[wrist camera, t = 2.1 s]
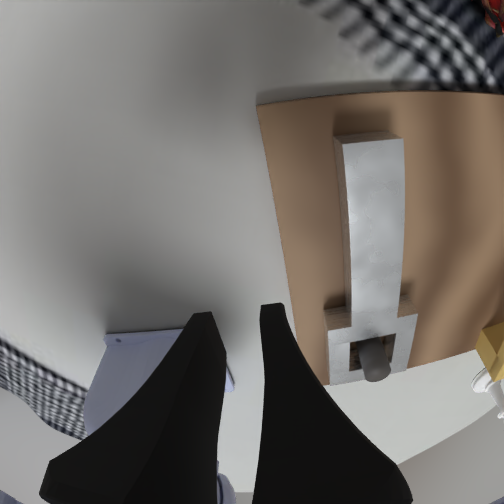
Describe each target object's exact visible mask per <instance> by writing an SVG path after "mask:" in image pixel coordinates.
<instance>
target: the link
mask: <svg viewBox="0 0 504 504" xmlns="http://www.w3.org/2000/svg"><path fill="white" fill-rule="evenodd" d="M333 141H334V149H335V157H336V166H337V176H338V186H339V197H340V208H341V222H342V236H343V254H344V276H345V306H342V307H336V308H330V309H324V310H323V314H324V328H325V344H326V363H327V371H328V376H329V382H330V386H332V385H338V384H344V383H349V382H355V381H360V380H365V376H364V372H363V368H362V365H361V361H360V357H359V354H358V350H357V349H355V350H350V342H354V341H359V340H365V339H370V338H375V337H380V336H385V343H384V344H383V347H384V350H385V352H386V355H387V358H388V361H389V364H390V367H391V372H390V374H393V373H397V372H401V371H405V370H406V369H407V364H408V360H409V356H410V351H411V347H412V342H413V337H414V332H415V327H416V322H417V317H418V312H417V310H416V308H415V307H414V305H413V303H412V301H411V299H410V297H409V295H408V294H406V295H401V296H400V286H401V275H402V262H403V246H404V222H405V165H404V142H403V138H401V137H399V136H398V135H396V134H394V133H392V132H390V131H377V132H366V133H356V134H347V135H338V136H333Z"/></svg>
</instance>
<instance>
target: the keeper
mask: <svg viewBox="0 0 504 504" xmlns="http://www.w3.org/2000/svg"><path fill="white" fill-rule="evenodd" d="M475 348H476V350H477V352H478V354H479V356H480V358H481V359H482V361H483V363H484V365H485V367H486V369H487V371H488V373H489V375H490V377H491V379H492V381H493V382H496V381H498V380H501V379H503V378H504V322H502V323H499V324H496V325H494V326H491V327H487V328H484V329H482V330H481V333H480V335H479V338H478V341H477V343H476V346H475Z"/></svg>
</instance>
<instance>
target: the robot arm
mask: <svg viewBox="0 0 504 504" xmlns="http://www.w3.org/2000/svg"><path fill="white" fill-rule="evenodd" d="M260 332H261V342H262V352H263V362H264V376H265V385H264V405H263V419H262V432H261V441H260V451H259V460H258V467H257V474H256V481H255V488H254V495H253V500H252V504H411V503H412V501H413V498H412V494H411V491H410V488H409V486H408V484H407V482H406V480H405V478H404V476H403V475H402V473H401V471H400V470H399V468H398V467H397V465H396V463H394V462H393V461H392V460H391V459H390V458H389V457H387V456H386V455H385V454H384V453H383V452H382V451H381V450H380V449H378V448H377V447H376V446H375V445H374V444H373V443H372V442H371V441H370V440H369V439H368V438H367V437H366V436H365V435H364V434H363V433H362V432H361V431H360V430H359V429H358V428H357V427H356V426H355V425H354V424H353V422H352V421H351V420H350V419H349V418H348V417H347V416H346V415H345V413H344V412H343V411H342V410H341V409H340V408H339V407H338V405H337V404H336V403H335V401H334V400H333V399H332V398H331V396H330V395H329V394H328V392H327V391H326V390H325V388H324V387H323V385H322V384H321V383H320V381H319V380H318V378H317V377H316V375H315V374H314V372H313V370H312V369H311V367H310V365H309V364H308V362H307V361H306V359H305V357H304V355H303V353H302V352H301V350H300V348H299V346H298V344H297V342H296V340H295V338H294V336H293V333H292V331H291V328H290V326H289V323H288V320H287V317H286V313H285V307H284V305H283V304H282V303H273V304H266V305H261V311H260ZM103 340H104V342H105V343H106V345H107V346H108V347H107V348H106V351H105V353H104V355H103V358H102V360H101V362H100V364H99V367H98V369H97V372H96V374H95V376H94V379H93V381H92V384H91V386H90V388H89V391H88V393H87V396H86V399H85V403H84V424H85V428H86V431H87V433H88V435H89V436H88V437H86V438H85V439H84V440H82V441H81V442H79V443H78V444H77V445H75V446H74V447H72V448H70V449H69V450H67V451H65V452H64V453H62V454H61V455H59V456H57V457H56V458H54V459H52V460H50V461H49V464H48V467H47V470H46V473H45V476H44V479H43V482H42V485H41V488H40V491H39V495H40V497H41V498H42V499H44V500H45V501H46V502H48V503H50V504H236V498H235V492H234V489H233V487H232V485H231V484H230V482H229V480H228V478H227V477H226V476H225V475H223V474H220V473H218V467H219V461H218V460H217V443H218V433H219V426H220V419H221V412H222V405H223V398H224V392H232V391H233V390H234V384H233V381H232V379H231V376H230V374H229V371H228V369H227V366H226V350H225V347H224V345H223V342H222V339H221V337H220V334H219V331H218V329H217V326H216V323H215V320H214V318H213V315H212V312H203V313H194V314H193V315H192V317H191V318H190V320H189V321H188V323H187V324H186V326H185V327H184V329H175V330H163V331H151V332H137V333H121V334H106V335H105V336H104V339H103ZM0 504H23V503H21V502H19V501H17V500H15V499H14V498H13V497H11V496H10V495H8V494H6V493H5V492H3V491H1V490H0ZM490 504H504V497H502V498H500V499H498V500H496V501H494V502H492V503H490Z"/></svg>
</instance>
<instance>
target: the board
mask: <svg viewBox="0 0 504 504" xmlns="http://www.w3.org/2000/svg"><path fill="white" fill-rule="evenodd" d="M256 109H257V114H258V119H259V124H260V129H261V134H262V139H263V144H264V149H265V155H266V160H267V165H268V170H269V176H270V181H271V186H272V192H273V197H274V203H275V208H276V214H277V220H278V225H279V231H280V237H281V243H282V249H283V254H284V260H285V266H286V272H287V279H288V285H289V291H290V297H291V303H292V310H293V316H294V323H295V329H296V336H297V343H298V346H299V348H300V350H301V352H302V353H303V355H304V357H305V359H306V361H307V362H308V364H309V365H310V367H311V369H312V370H313V372H314V374H315V375H316V377H317V378H318V380H319V381H320V383H321V384H322V385H329V384H330V382H329V376H328V371H327V363H326V344H325V328H324V314H323V310H324V309H330V308H336V307H342V306H345V276H344V254H343V236H342V222H341V208H340V197H339V186H338V176H337V166H336V157H335V149H334V141H333V136H338V135H347V134H356V133H366V132H377V131H390V132H392V133H394V134H396V135H398V136H399V137H401V138H403V142H404V165H405V222H404V246H403V262H402V275H401V286H400V296H401V295H406V294H408V295H409V297H410V299H411V301H412V303H413V305H414V307H415V308H416V310H417V312H418V317H417V322H416V327H415V332H414V337H413V342H412V347H411V351H410V356H409V360H408V364H407V369H408V368H412V367H416V366H420V365H424V364H427V363H431V362H435V361H438V360H442V359H445V358H449V357H452V356H455V355H458V354H462V353H465V352H468V351H471V350H474V349H476V348H475V346H476V343H477V341H478V338H479V335H480V333H481V330H482V329H484V328H487V327H491V326H494V325H496V324H499V323H502V322H504V94H496V93H484V92H469V91H443V90H404V91H378V92H361V93H348V94H337V95H327V96H318V97H310V98H302V99H295V100H288V101H281V102H275V103H269V104H263V105H257V106H256ZM384 343H385V336H380V337H375V338H370V339H365V340H359V341H354V342H350V350H355V349H357V350H358V354H359V357H360V361H361V365H362V368H363V372H364V376H365V379H366V380H367V381H369V382H377V381H380V380H383V379H384V378H386V377H387V376H388V375H389V374H390V372H391V367H390V364H389V361H388V358H387V355H386V352H385V350H384V347H383V344H384Z"/></svg>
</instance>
